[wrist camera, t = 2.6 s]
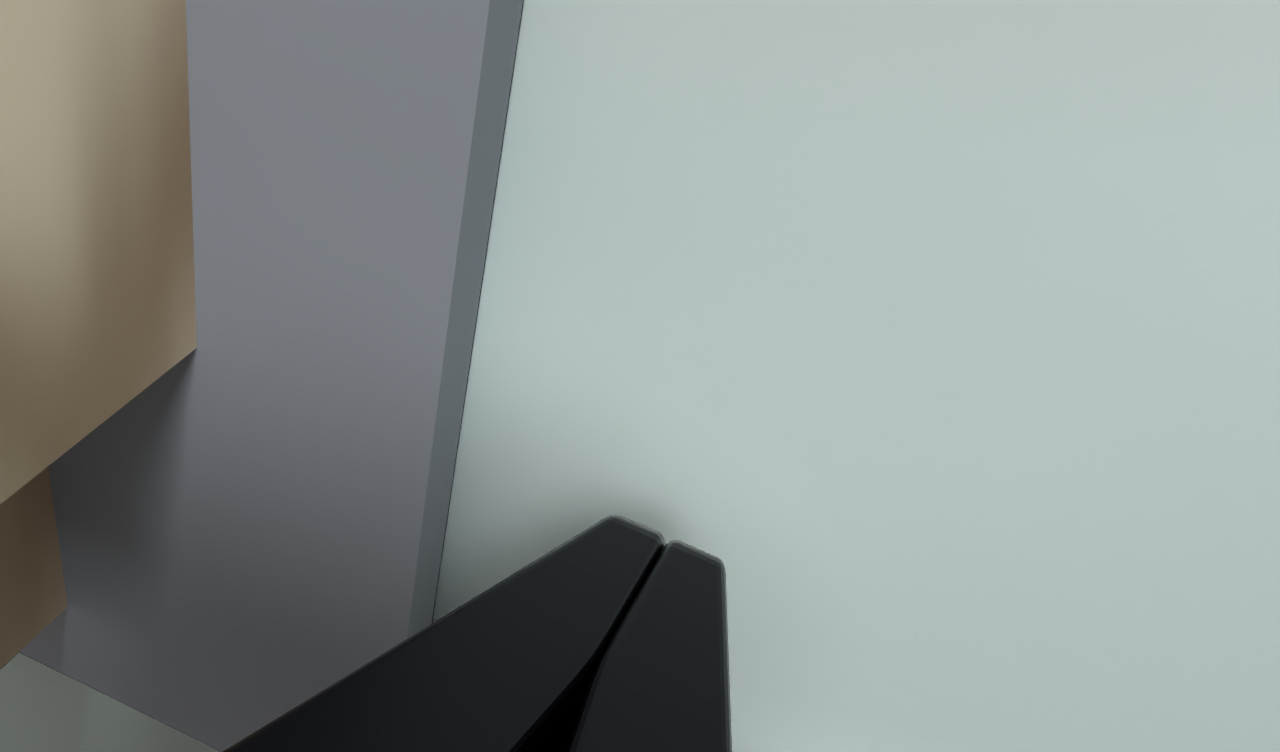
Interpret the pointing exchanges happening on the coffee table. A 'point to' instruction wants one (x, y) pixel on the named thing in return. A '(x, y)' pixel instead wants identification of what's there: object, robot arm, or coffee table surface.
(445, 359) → the slate mat
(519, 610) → the robot arm
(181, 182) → the t block
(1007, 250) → the coffee table surface
